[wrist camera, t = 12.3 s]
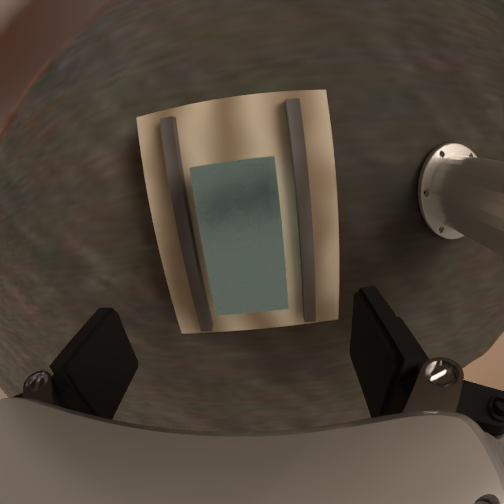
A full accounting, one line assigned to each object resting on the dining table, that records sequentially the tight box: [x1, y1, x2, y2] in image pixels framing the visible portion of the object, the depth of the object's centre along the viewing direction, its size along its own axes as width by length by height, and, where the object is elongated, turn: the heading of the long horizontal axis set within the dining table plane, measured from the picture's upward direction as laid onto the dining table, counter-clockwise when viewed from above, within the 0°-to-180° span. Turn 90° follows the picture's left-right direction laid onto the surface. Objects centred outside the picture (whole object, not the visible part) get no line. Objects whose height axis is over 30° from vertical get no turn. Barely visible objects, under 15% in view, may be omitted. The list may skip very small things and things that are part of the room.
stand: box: [137, 90, 339, 334], centre depth 27 cm, size 18×24×5 cm
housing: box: [189, 156, 289, 315], centre depth 23 cm, size 12×6×6 cm, turn 7°
